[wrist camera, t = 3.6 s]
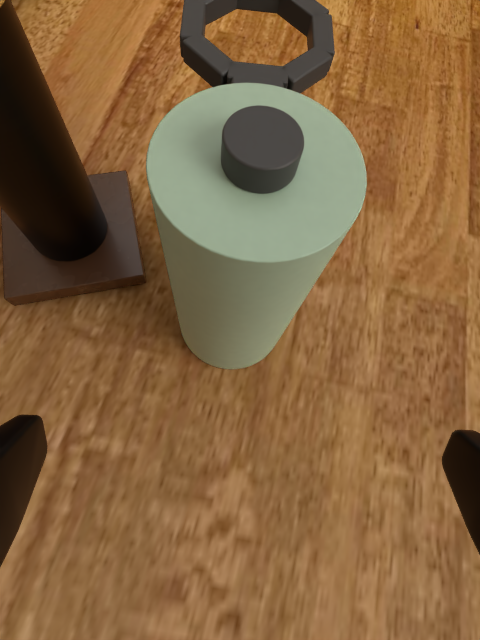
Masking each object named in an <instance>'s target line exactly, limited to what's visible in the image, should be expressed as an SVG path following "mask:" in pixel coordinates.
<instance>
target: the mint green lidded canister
mask: <svg viewBox="0 0 480 640" xmlns="http://www.w3.org/2000/svg"><path fill="white" fill-rule="evenodd" d="M235 9H242V10H251V11H260V12H269V13H277V14H278V15H280V16H281V17H282V18H283V19H285V20H286V21H287V22H289V23H290V24H291V25H292V26H294V27H295V28H296V29H297V30H299V31H300V32H301V33H303V34H304V35H305V36H306V37H307V45H308V51H307V52H305V53H303V54H302V55H300V56H299V57H297V58H295V59H294V60H292V61H291V62H289V63H287V64H286V65H284V66H273V65H264V64H254V63H244V62H234V61H232V60H231V59H230V58H229V57H228V56H226V55H225V54H224V53H223V52H222V51H220V50H219V49H218V48H217V47H216V46H214V45H213V44H212V43H211V42H210V41H209V40H207V39H206V38H205V37H204V36H205V25H207V24H209V23H211V22H213V21H215V20H217V19H218V18H220V17H222V16H224V15H226V14H228V13H230V12H232V11H233V10H235ZM328 13H329V10H328V9H326V8H325V7H324V6H322V5H321V4H320V3H318V2H317V1H316V0H184V6H183V14H182V23H181V31H180V47H181V56H182V57H183V58H184V62H185V63H186V64H187V65H188V66H189V67H190V68H192V69H193V70H194V71H195V72H196V73H197V74H198V75H200V76H201V77H202V78H203V79H204V80H205V81H206V82H208V83H209V84H210V85H211V86H212V88H209V89H206V90H203V91H201V92H198V93H196V94H194V95H192V96H190V97H188V98H186V99H185V100H183V101H182V102H180V103H179V104H178V105H176V106H175V107H174V108H173V109H172V110H171V111H169V112H168V113H167V115H166V116H165V117H164V118H163V119H162V121H161V122H160V123H159V125H158V126H157V128H156V130H155V131H154V133H153V136H152V138H151V141H150V143H149V147H148V152H147V159H146V172H147V180H148V185H149V189H150V194H151V198H152V203H153V207H154V212H155V216H156V221H157V225H158V230H159V234H160V239H161V243H162V248H163V252H164V257H165V261H166V266H167V270H168V275H169V279H170V284H171V288H172V293H173V297H174V302H175V306H176V311H177V315H178V320H179V324H180V329H181V332H182V336H183V338H184V341H185V342H186V344H187V346H188V347H189V349H190V350H191V351H192V352H193V353H194V354H195V355H196V356H197V357H198V358H199V359H201V360H202V361H204V362H206V363H207V364H209V365H212V366H215V367H218V368H222V369H240V368H245V367H249V366H251V365H253V364H256V363H257V362H259V361H261V360H262V359H263V358H265V357H266V356H267V355H268V354H269V353H270V352H271V350H272V349H273V348H274V346H275V345H276V343H277V342H278V340H279V338H280V337H281V335H282V334H283V332H284V331H285V329H286V328H287V326H288V324H289V323H290V321H291V320H292V318H293V317H294V315H295V313H296V312H297V310H298V309H299V307H300V306H301V304H302V303H303V301H304V299H305V298H306V296H307V295H308V293H309V292H310V290H311V288H312V287H313V285H314V284H315V282H316V281H317V279H318V278H319V276H320V274H321V273H322V271H323V270H324V268H325V267H326V265H327V264H328V262H329V260H330V259H331V257H332V256H333V254H334V253H335V251H336V249H337V248H338V246H339V245H340V243H341V242H342V240H343V239H344V237H345V235H346V234H347V232H348V231H349V229H350V228H351V226H352V224H353V223H354V221H355V220H356V218H357V216H358V214H359V212H360V210H361V208H362V205H363V202H364V198H365V193H366V186H367V182H366V169H365V163H364V159H363V156H362V153H361V151H360V148H359V146H358V144H357V142H356V141H355V139H354V137H353V136H352V134H351V133H350V131H349V130H348V129H347V128H346V126H345V125H344V124H343V123H342V122H341V121H340V120H339V119H338V118H337V117H336V116H335V115H334V114H333V113H332V112H330V111H329V110H328V109H326V108H325V107H323V106H322V105H321V104H319V103H317V102H316V101H314V100H312V99H311V98H309V97H306V96H304V95H302V94H300V93H302V92H303V91H305V90H306V89H308V88H309V87H311V86H312V85H314V84H315V83H317V82H318V81H320V80H321V79H322V78H324V77H325V76H326V75H327V72H328V71H329V69H330V66H331V63H332V60H333V57H334V53H335V51H334V39H333V27H332V16H331V15H329V14H328Z"/></svg>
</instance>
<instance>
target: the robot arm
mask: <svg viewBox="0 0 480 640" xmlns="http://www.w3.org/2000/svg"><path fill="white" fill-rule="evenodd" d="M46 454H47V441H46V436H45V430H44V425H43V421H42V418H41V417H40V416H38V415H18V416H16V417H14V418H13V419H11V420H9V421H8V422H6V423H4V424H3V425H1V426H0V567H1V565H2V563H3V561H4V559H5V557H6V555H7V553H8V551H9V548H10V546H11V544H12V542H13V540H14V538H15V536H16V534H17V532H18V529H19V527H20V524H21V522H22V519H23V517H24V514H25V512H26V509H27V506H28V503H29V501H30V498H31V495H32V493H33V490H34V487H35V484H36V482H37V479H38V476H39V474H40V471H41V468H42V466H43V463H44V460H45V457H46ZM442 465H443V469H444V471H445V474H446V476H447V479H448V481H449V484H450V486H451V489H452V491H453V494H454V497H455V499H456V502H457V504H458V507H459V509H460V512H461V514H462V517H463V519H464V522H465V524H466V526H467V529H468V531H469V533H470V536H471V538H472V540H473V542H474V544H475V546H476V548H477V550H478V552H479V554H480V433H478V432H476V431H473V430H455V431H454V432H453V433H452V434H451V437H450V439H449V441H448V444H447V446H446V449H445V451H444V453H443V456H442Z"/></svg>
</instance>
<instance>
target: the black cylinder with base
mask: <svg viewBox="0 0 480 640" xmlns="http://www.w3.org/2000/svg"><path fill="white" fill-rule="evenodd" d="M0 207H1V221H2V248H3V275H4V298H5V299H6V300H7V301H9V302H10V303H11V304H13V305H14V306H16V305H21V304H27V303H33V302H39V301H44V300H50V299H56V298H62V297H68V296H73V295H79V294H85V293H91V292H96V291H102V290H108V289H114V288H120V287H125V286H131V285H137V284H143V283H146V276H145V270H144V265H143V259H142V253H141V247H140V241H139V235H138V229H137V223H136V217H135V211H134V206H133V200H132V194H131V188H130V182H129V179H128V175H127V172H126V171H118V172H110V173H103V174H95V175H87V174H86V171H85V169H84V167H83V165H82V162H81V160H80V158H79V155H78V153H77V151H76V149H75V146H74V144H73V142H72V139H71V137H70V135H69V133H68V130H67V128H66V126H65V123H64V121H63V119H62V117H61V114H60V112H59V110H58V107H57V105H56V103H55V101H54V98H53V96H52V94H51V91H50V89H49V87H48V85H47V82H46V80H45V78H44V75H43V73H42V71H41V69H40V66H39V64H38V62H37V59H36V57H35V55H34V53H33V50H32V48H31V46H30V43H29V41H28V39H27V37H26V34H25V32H24V30H23V27H22V25H21V23H20V21H19V18H18V16H17V14H16V11H15V9H14V7H13V5H12V2H11V0H0Z"/></svg>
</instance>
